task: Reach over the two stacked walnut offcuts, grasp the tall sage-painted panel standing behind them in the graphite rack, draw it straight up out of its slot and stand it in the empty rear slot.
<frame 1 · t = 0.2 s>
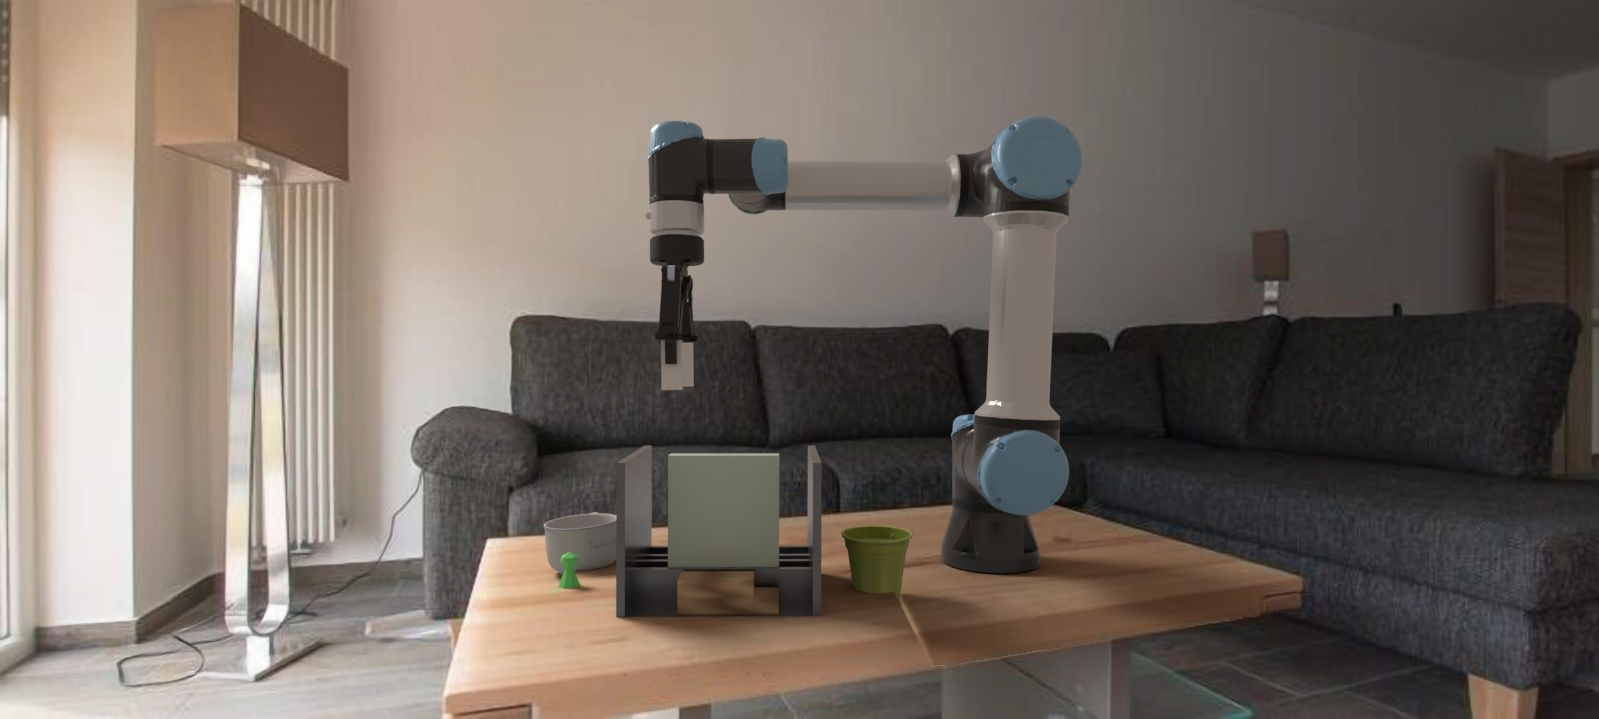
hand: (678, 388, 114), 28 cm above the table, fingers open, 13 cm apart
offcut upper: (716, 592, 99), point 3 cm above the table, touching offcut lower
teacup: (586, 571, 123), on the table
game piece: (568, 598, 109), on the table
offcut lower: (729, 608, 99), point 1 cm above the table, touching offcut upper, rack
rack: (724, 607, 104), on the table
plant pot: (876, 599, 108), on the table
sage panel: (724, 595, 104), point 1 cm above the table, touching rack
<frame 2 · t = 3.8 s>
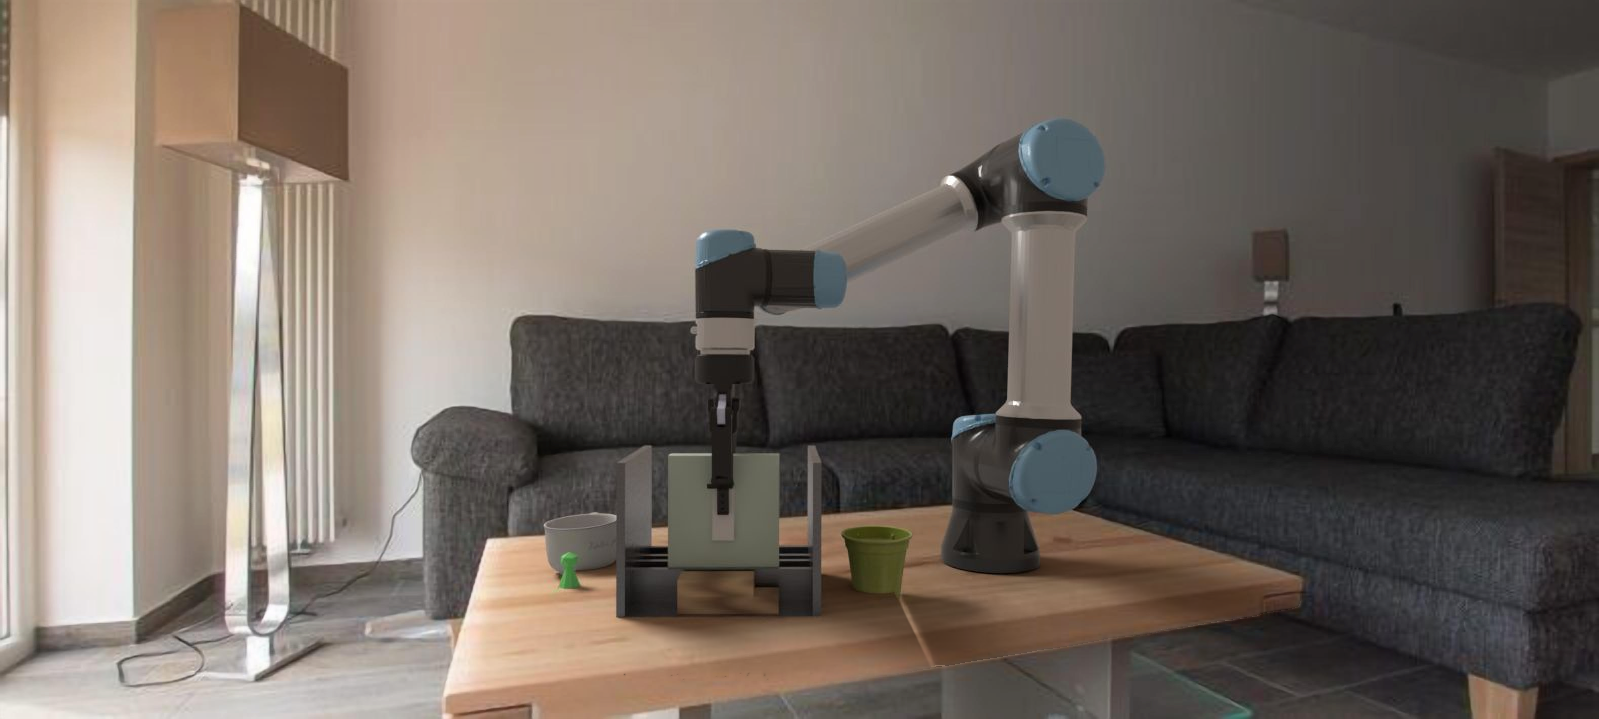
hand: (724, 536, 104), 9 cm above the table, fingers closed on sage panel, 2 cm apart
sage panel: (724, 595, 104), point 1 cm above the table, touching gripper, rack
everything else where it was.
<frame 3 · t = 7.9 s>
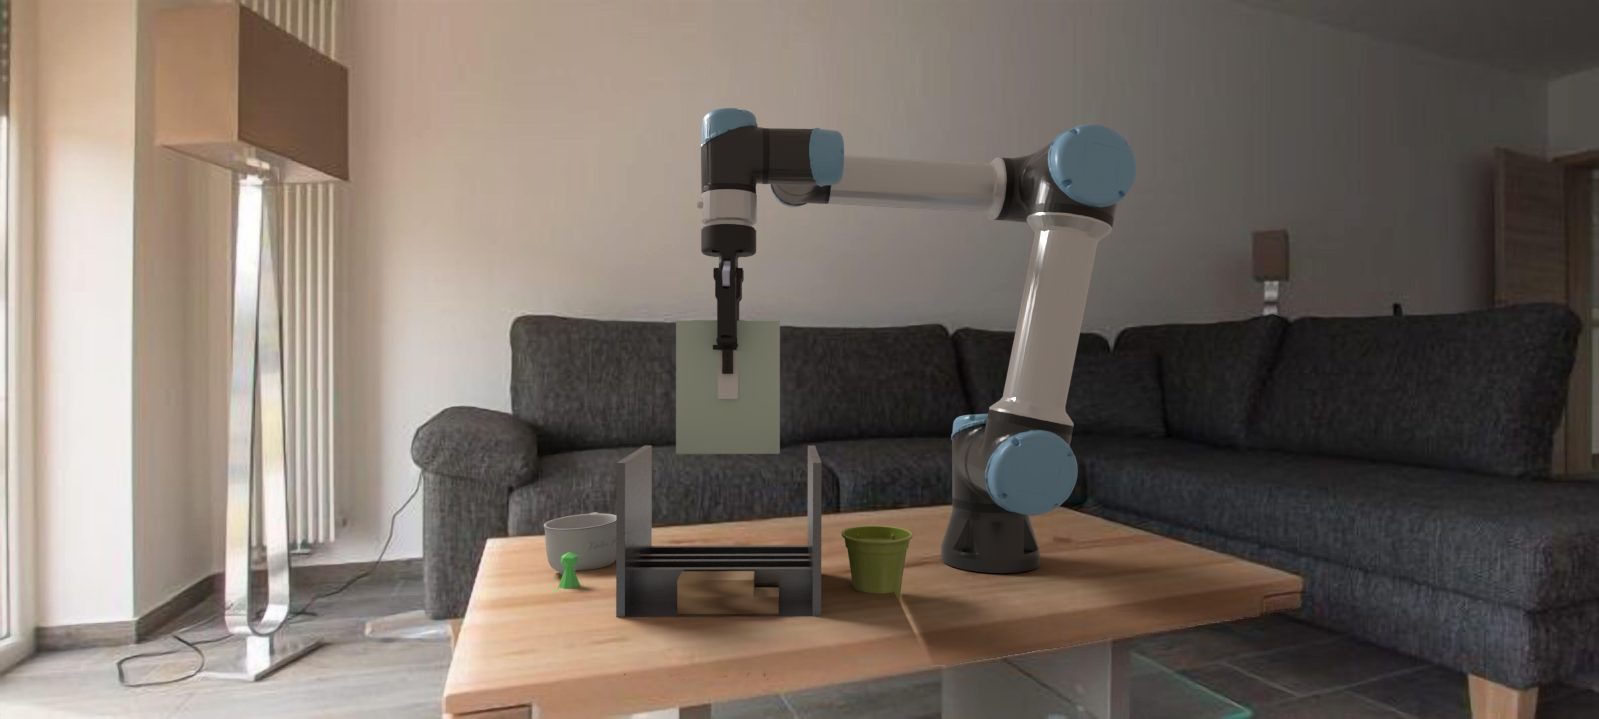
hand: (728, 397, 111), 26 cm above the table, fingers closed on sage panel, 2 cm apart
sage panel: (728, 452, 111), point 19 cm above the table, touching gripper
everything else where it was.
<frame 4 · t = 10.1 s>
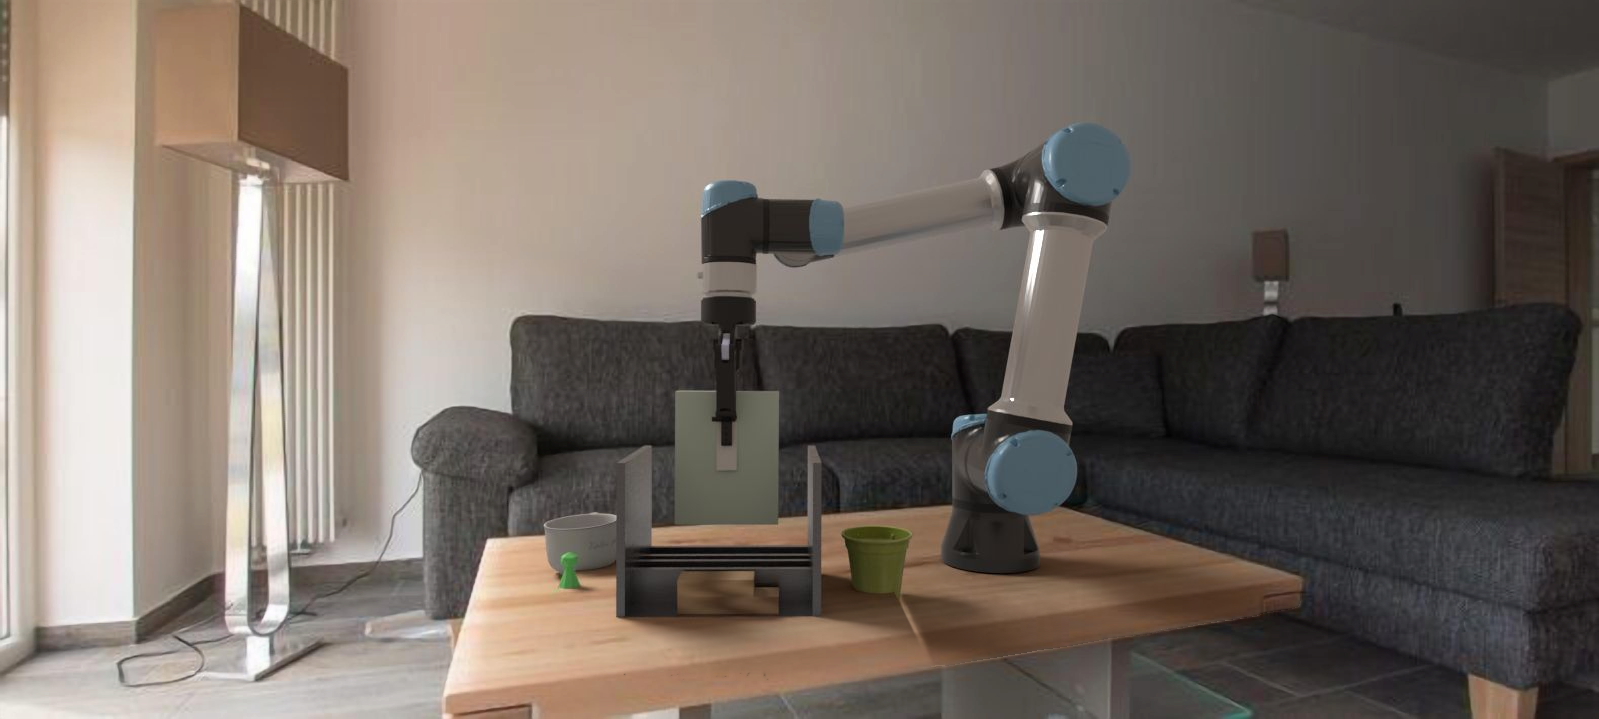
hand: (727, 467, 112), 17 cm above the table, fingers closed on sage panel, 2 cm apart
sage panel: (727, 522, 112), point 9 cm above the table, touching gripper
everything else where it was.
when the fingers open (10 cm above the table, at t = 11.8 s): sage panel drops 1 cm, resting on rack.
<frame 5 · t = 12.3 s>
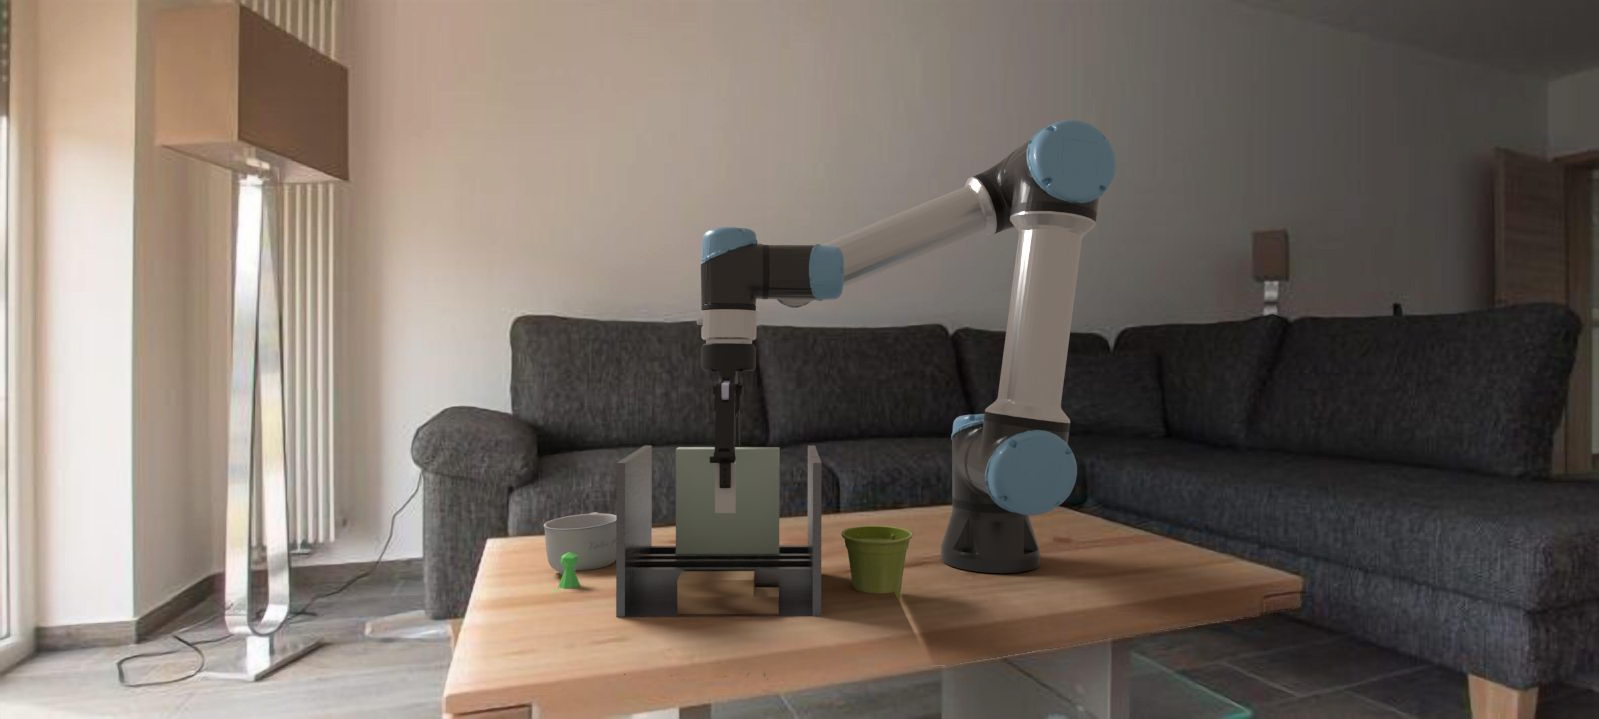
hand: (728, 505, 112), 12 cm above the table, fingers open, 10 cm apart
sage panel: (728, 579, 112), point 1 cm above the table, touching rack
everything else where it was.
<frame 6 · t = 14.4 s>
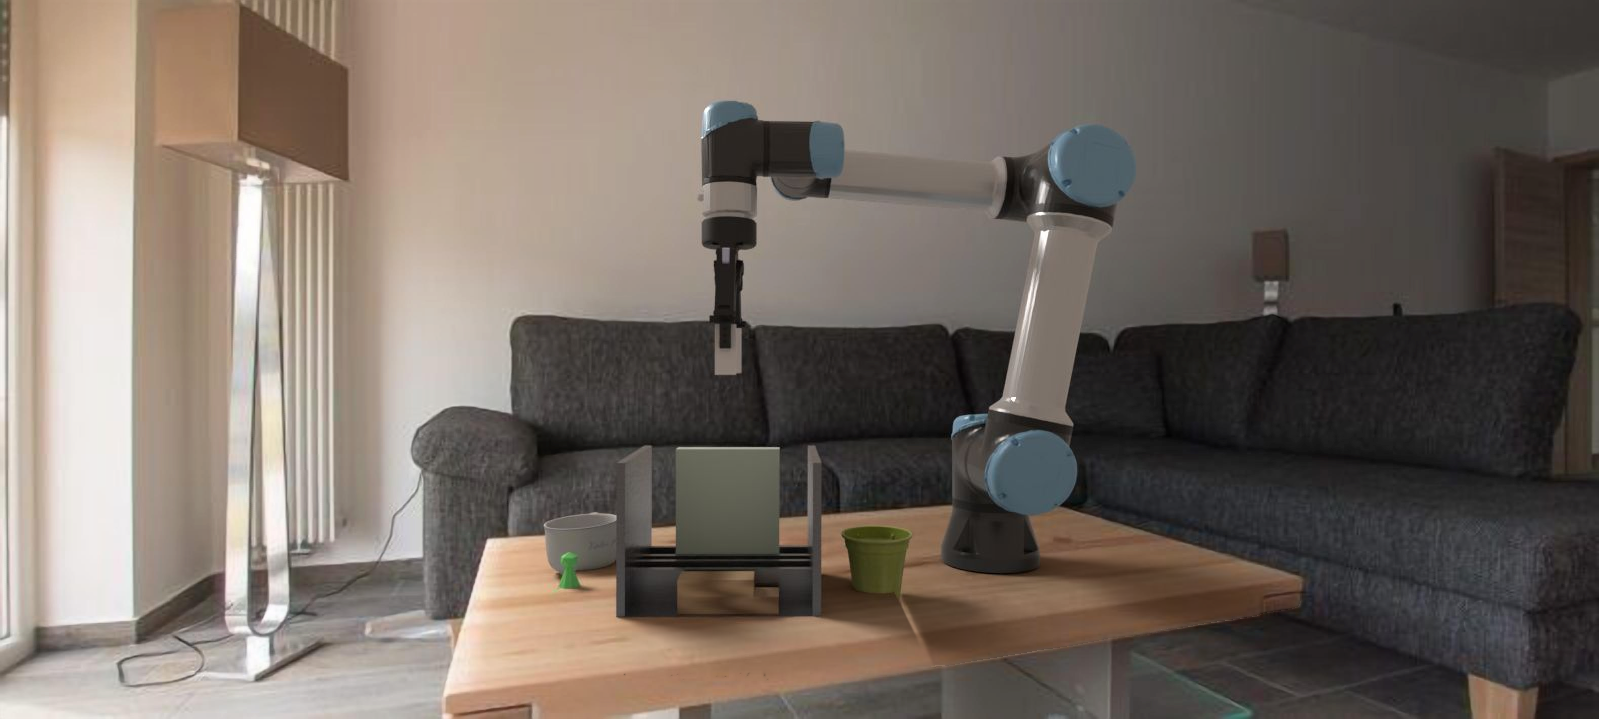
hand: (728, 374, 112), 30 cm above the table, fingers open, 13 cm apart
nothing on the table moved.
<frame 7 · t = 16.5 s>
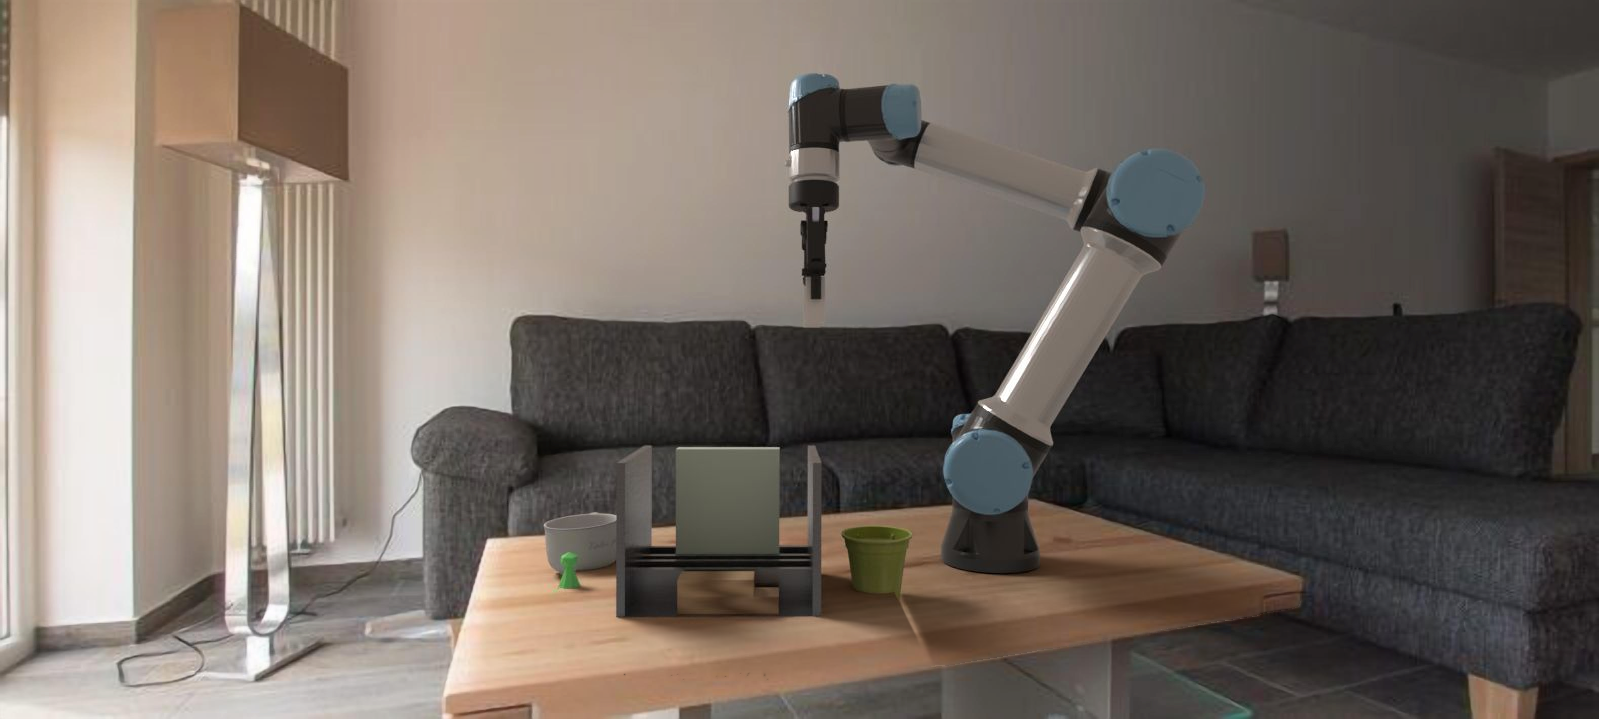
hand: (813, 325, 121), 37 cm above the table, fingers open, 13 cm apart
nothing on the table moved.
at the end: sage panel 0.0 cm from the target spot on the rack, point 1.5 cm above the rack's base; sage panel tilted 0°; the gripper is holding nothing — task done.
